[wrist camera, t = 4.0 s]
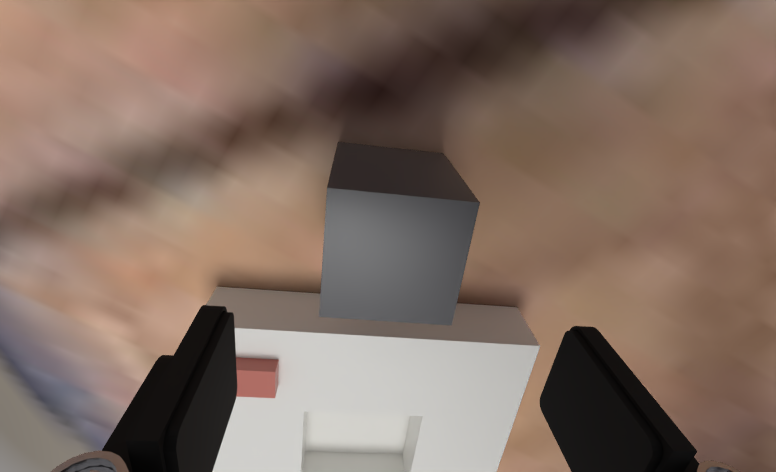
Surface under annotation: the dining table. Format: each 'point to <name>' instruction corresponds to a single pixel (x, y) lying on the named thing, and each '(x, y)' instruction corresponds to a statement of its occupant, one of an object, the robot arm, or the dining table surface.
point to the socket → (370, 388)
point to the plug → (394, 235)
